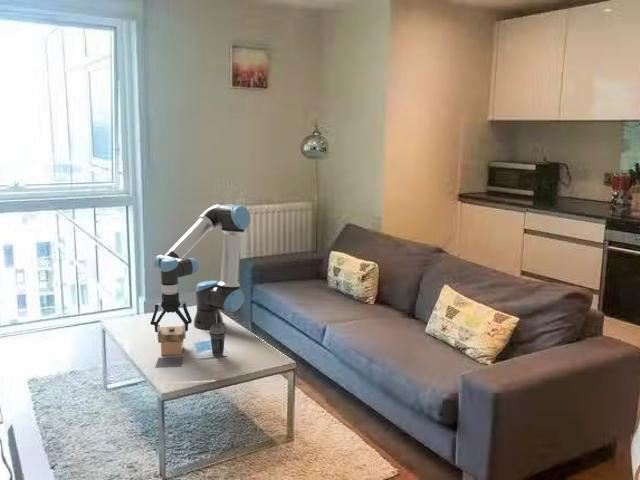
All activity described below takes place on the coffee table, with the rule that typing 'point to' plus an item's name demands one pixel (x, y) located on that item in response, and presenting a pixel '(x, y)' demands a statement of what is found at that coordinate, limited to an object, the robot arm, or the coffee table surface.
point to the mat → (169, 362)
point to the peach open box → (171, 348)
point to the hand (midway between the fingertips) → (171, 338)
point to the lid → (171, 334)
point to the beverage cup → (217, 339)
